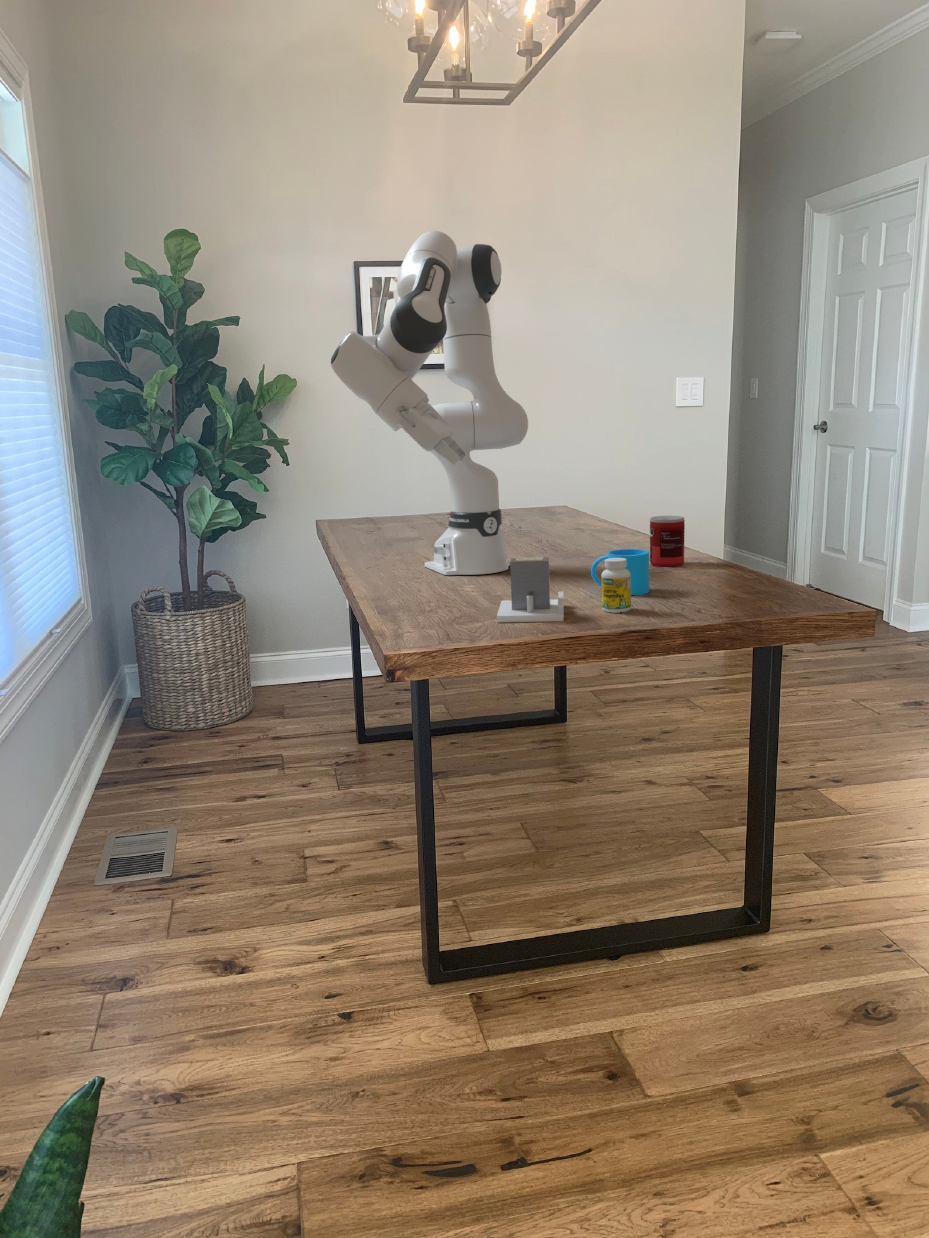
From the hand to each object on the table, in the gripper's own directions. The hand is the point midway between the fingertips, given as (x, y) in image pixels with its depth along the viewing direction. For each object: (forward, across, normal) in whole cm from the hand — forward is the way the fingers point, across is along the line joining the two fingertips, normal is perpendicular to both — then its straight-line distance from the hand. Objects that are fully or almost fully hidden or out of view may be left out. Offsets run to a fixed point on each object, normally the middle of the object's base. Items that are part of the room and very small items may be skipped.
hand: (460, 459), depth 168 cm
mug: (+41, +17, 0) cm, 45 cm away
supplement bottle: (+40, 0, +1) cm, 40 cm away
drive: (+28, -1, +11) cm, 30 cm away
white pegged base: (+29, -1, +12) cm, 31 cm away
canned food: (+50, +46, -9) cm, 69 cm away
